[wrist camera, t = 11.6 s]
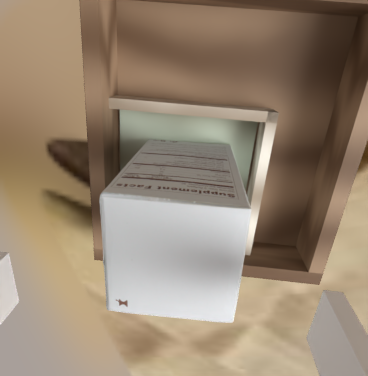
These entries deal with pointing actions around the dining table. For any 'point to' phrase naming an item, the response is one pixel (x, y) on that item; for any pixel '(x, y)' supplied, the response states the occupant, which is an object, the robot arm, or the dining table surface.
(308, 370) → the dining table surface
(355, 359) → the robot arm
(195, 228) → the supplement box
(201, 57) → the crate
